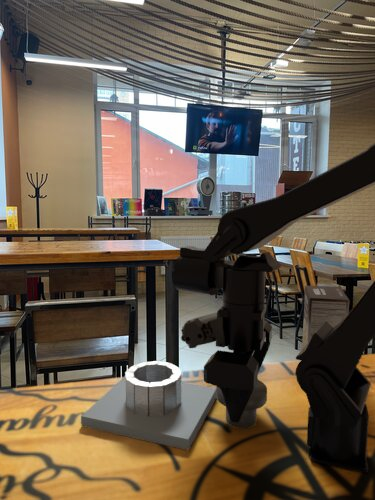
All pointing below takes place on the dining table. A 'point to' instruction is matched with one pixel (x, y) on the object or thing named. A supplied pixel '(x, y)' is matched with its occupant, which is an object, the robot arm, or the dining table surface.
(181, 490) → the dining table surface
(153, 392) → the faceted ring
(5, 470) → the dining table surface
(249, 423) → the knob
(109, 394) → the mount plate
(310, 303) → the coffee box
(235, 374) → the robot arm
